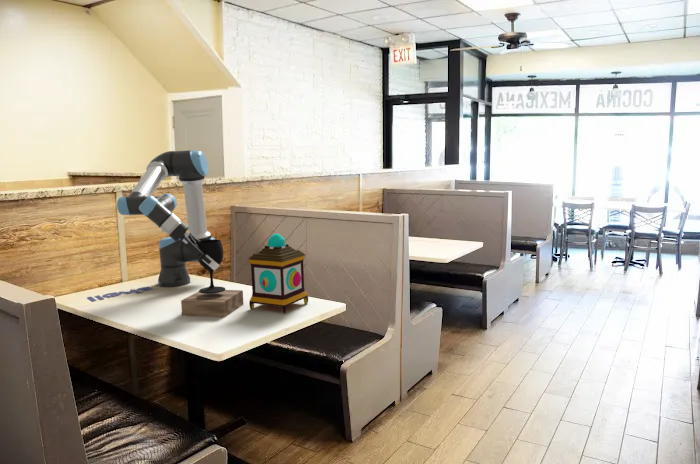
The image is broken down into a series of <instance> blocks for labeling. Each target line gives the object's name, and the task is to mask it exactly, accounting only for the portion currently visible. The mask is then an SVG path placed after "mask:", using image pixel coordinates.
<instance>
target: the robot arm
mask: <svg viewBox="0 0 700 464" xmlns="http://www.w3.org/2000/svg"><path fill="white" fill-rule="evenodd" d="M208 173H209V166H208V161H207V158H206V155H205V154H204V153H203V151H200V150H191V149H190V150H170V151H166V152H163V153H160V154H159V155H156V156H155V157H154V158H152V159H151V160H150V162H149V163H148V164H147V166H146V171H145V172H144V173H143V175H142V177H141V178H140V179H139V181H138V182H137V184H136V185H135V186H134V188H132V191H131V192H130V193H129V195H127V196H120V197H119V198H118V199H117V201H116V208H117V211H118V213H119V214H120V215H122V216H141V215H142V216H143V215H144V217H147V219H149V220H150V221H151V222H152V223H153V224H155V225H156V226H158V228H160V229H161V230H160V231H161V232H162V233H163V232H164V233H165V234H166V235H169V236H167V237H164V238H161V239H160V240H159V241H158V251H159V260H160V261H159V262H160V263H159V264H160V272H159V276H158V278H157V285H158V286H159V287H164V288H165V287H168V288H170V287H179V286H180V287H181V286H185V285H189V284H190V283H191V275H190V274H189V272H188V269H187V265H186V263H199V261H201V260H203V261H204V262H205V263H206V264H207V265H208V266H210V267H211V268H212V269H213V270H214V271H217V269H218V268H220V266H221V264H220V265H219V264H217V263H216V262H215V261H214V260H213V259H212V258H210V257H209V256H208V255H206V254H205V253H204V252H203V251H202V250H201V249H200V248H199V247H198V246H197V244H198V242H199V241H202V240H216V238H215V237H212V235H211V232H210V231H208V226H207V217H206V208H205V199H204V190H203V182H204V180H205V178H206V177H205V176H207V175H208ZM168 177H178V181H179V182H180V183H182V187H183V195H184V201H185V212H186V213H185V214H186V219H187V224H186V223H185V222H183V221H182V220H181V219H180V218H179V216H177V215H176V214H174V213H173V211H174V210H175V208H176V207H177V204H178V203H177V202H178V201H177V199H176V197H175V196H174V195H173V194H170V193H162V194H161V195H153V194H154V193H155V191H156V190H157V188H158V187H159V185H160V184H161V182H162V181H164V180H165V179H166V178H168ZM197 258H198V259H199V261H198V259H197ZM214 271H213V272H214Z"/></svg>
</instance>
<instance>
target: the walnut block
mask: <svg viewBox="0 0 700 464" xmlns="http://www.w3.org/2000/svg"><path fill="white" fill-rule="evenodd" d="M180 304H181V306H180V307H181V316H183V317H184V316H191V317H210V318H211V317H214V318H216V317H217V318H219V317H220V318H226V317H227V316H229V315H231V314H232V313H233V312H234V311H236V310H238V309H239V308H241V307H242V306H244V291H243V290H242V289H241V290H240V289H225V291H223V292H219V293H212V294H204V293H200V292H199V290H198V291H197V292H194V293H193V294H191V295H189V296H187V297H185V298H183V299H181V300H180Z"/></svg>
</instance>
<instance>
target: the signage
mask: <svg viewBox="0 0 700 464" xmlns="http://www.w3.org/2000/svg"><path fill="white" fill-rule="evenodd" d="M153 290H154V288H153V287H151V286H143V287H138V288H137V289H134V288H133V289H130V291H128V290H127V291H118V292H116V291H115V292H110V293H105V294H102V296H101V295H99V294H98V295H95V296H94V297H92V296H89V297H86V299H87V300H89V301H90V302H93V303H94V302H97V299H98V300H99V301H104V300H105V298H107V299H110V298H115V297H119V296H121V295H122V294H125V295H130V294H132V293H135V294H137V295H138V294H141V293H142V292H149V291H153ZM95 298H96V299H95Z"/></svg>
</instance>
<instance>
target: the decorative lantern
mask: <svg viewBox="0 0 700 464" xmlns="http://www.w3.org/2000/svg"><path fill="white" fill-rule="evenodd" d="M305 258H306V254H305V253H304V252H303V251H301V250H300V249H295V248H294V247H293V248H292V246H290V245H289V244H286V241H285V238H284V237H283V236H282V235H281V234H279V233H273V234H272V235H271V236H270V237H269V238H268V239H267V245H265V246H264V248H261V250H259V251H257V252H256V253H255V252H254V253H253V254H252V255H251V256H249V257H248V258H247V261H248V263H249V264H250V269H251V270H250V272H251V274H250V275H251V289H252V292H251V297H250V298H249V299H250V300H249V309H250V310H253V309H255V304H257V305H262V306H263V305H265V306H273V307H280V308H281V310H282V314H284V315H285V314H286V313H287V307H288V306H290V305H293V304H295V303H297V302H299V301H301V300H303V303H304V304H305V305H306V304H308V303H309V296H308V295H309V294H308V293H307V291H306V290H305V275H304V259H305Z"/></svg>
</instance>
